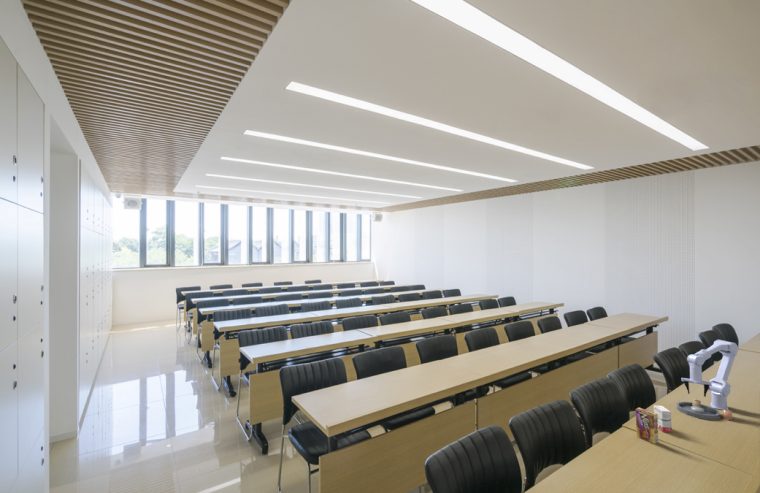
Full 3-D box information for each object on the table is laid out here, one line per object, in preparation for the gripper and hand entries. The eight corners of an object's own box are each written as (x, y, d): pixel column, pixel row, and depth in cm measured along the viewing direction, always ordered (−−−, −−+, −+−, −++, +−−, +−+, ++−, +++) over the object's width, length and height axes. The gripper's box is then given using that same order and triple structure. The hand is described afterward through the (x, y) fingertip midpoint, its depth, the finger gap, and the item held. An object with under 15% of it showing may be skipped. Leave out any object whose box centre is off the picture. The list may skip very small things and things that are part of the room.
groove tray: (676, 403, 232) (676, 399, 233) (717, 411, 220) (716, 407, 220) (677, 413, 217) (677, 409, 217) (722, 422, 204) (721, 418, 204)
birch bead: (692, 406, 226) (691, 398, 226) (700, 407, 223) (700, 400, 224) (692, 408, 223) (692, 400, 223) (701, 410, 220) (700, 402, 220)
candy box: (659, 442, 184) (658, 413, 184) (654, 444, 182) (653, 415, 183) (640, 434, 192) (639, 407, 192) (636, 436, 190) (635, 408, 191)
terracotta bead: (722, 416, 212) (722, 408, 212) (731, 418, 210) (731, 410, 210) (723, 419, 209) (723, 411, 209) (733, 421, 206) (732, 412, 207)
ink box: (672, 432, 194) (671, 411, 194) (662, 432, 195) (661, 411, 195) (663, 425, 202) (662, 405, 202) (653, 424, 203) (653, 404, 203)
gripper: (681, 373, 225) (682, 393, 225) (711, 377, 216) (712, 399, 215) (681, 370, 231) (681, 390, 230) (710, 374, 221) (711, 396, 221)
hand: (696, 394), depth 223 cm, fingers open, 7 cm apart
